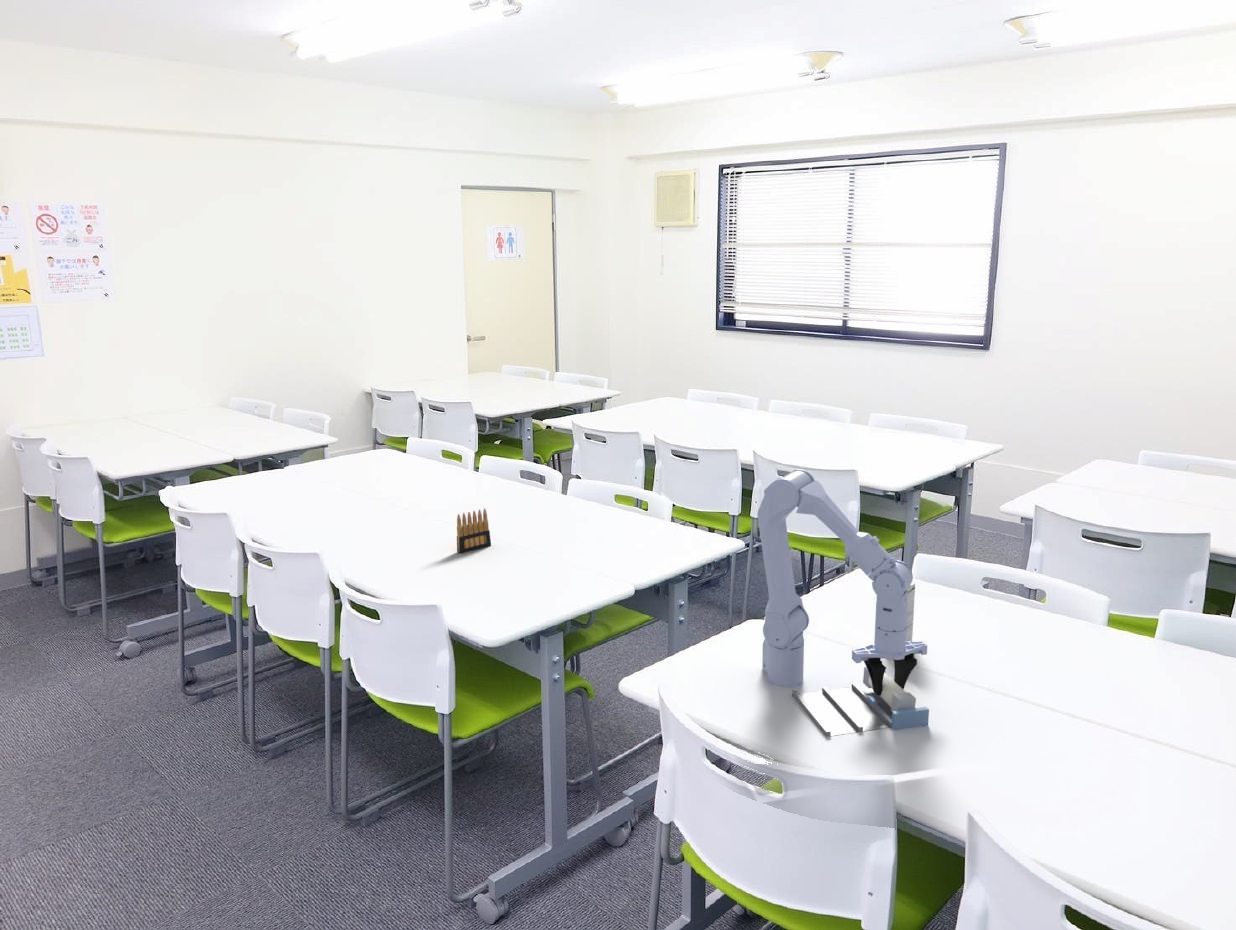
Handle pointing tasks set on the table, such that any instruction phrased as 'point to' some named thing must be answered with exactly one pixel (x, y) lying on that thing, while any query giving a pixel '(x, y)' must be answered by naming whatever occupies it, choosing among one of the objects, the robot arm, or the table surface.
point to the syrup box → (910, 612)
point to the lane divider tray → (856, 711)
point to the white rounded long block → (892, 693)
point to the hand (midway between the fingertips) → (887, 691)
